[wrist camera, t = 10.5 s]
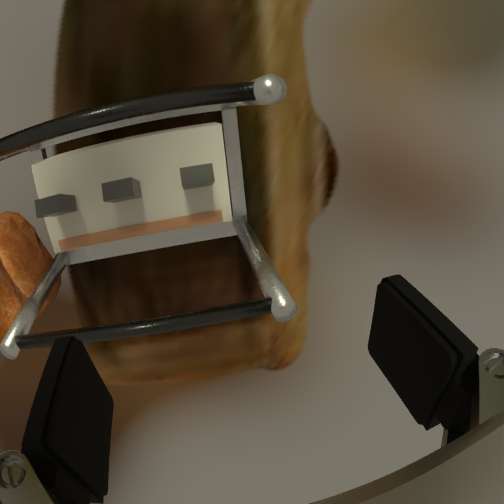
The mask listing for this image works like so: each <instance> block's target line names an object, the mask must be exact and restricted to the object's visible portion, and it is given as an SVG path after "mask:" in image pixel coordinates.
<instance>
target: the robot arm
mask: <svg viewBox="0 0 504 504" xmlns="http://www.w3.org/2000/svg"><path fill="white" fill-rule="evenodd" d="M368 350H369V353H370V355H371V357H372V358H373V360H374V361H375V362H376V364H377V365H378V367H379V368H380V369H381V371H382V372H383V374H384V375H385V377H386V378H387V380H388V381H389V382H390V384H391V385H392V387H393V388H394V390H395V391H396V392H397V394H398V395H399V397H400V398H401V400H402V401H403V403H404V404H405V406H406V407H407V408H408V410H409V412H410V413H411V415H412V416H413V417H414V419H415V420H416V421H417V423H418V424H420V425H422V424H423V426H424V427H425V429H426V430H429V429H431V428H433V427H434V426H436V425H438V424H440V423H441V425H442V426H443V427H444V429H443V437H442V443H441V448H440V449H438V450H436V451H434V452H433V453H431V454H429V455H427V456H425V457H423V458H421V459H419V460H418V461H416V462H414V463H412V464H410V465H408V466H406V467H403V468H401V469H399V470H397V471H395V472H393V473H391V474H388V475H386V476H384V477H381V478H379V479H377V480H375V481H372V482H370V483H367V484H365V485H363V486H360V487H357V488H354V489H352V490H349V491H346V492H343V493H341V494H338V495H335V496H332V497H329V498H326V499H323V500H320V501H316V502H313V503H310V504H504V350H502V349H498V348H491V349H487V350H485V351H484V352H482V354H481V355H480V356H479V355H478V354H477V350H478V347H477V346H476V345H475V344H474V343H472V341H471V340H470V339H468V337H466V335H464V333H462V332H461V331H460V330H459V329H458V328H457V327H456V326H455V325H454V324H453V323H452V322H451V321H450V320H449V319H448V318H447V317H446V316H445V315H443V313H442V312H440V310H439V309H437V308H436V307H435V306H434V305H433V304H432V303H431V302H430V301H429V300H428V299H427V298H425V297H424V296H423V295H422V294H421V293H420V292H419V291H418V290H417V289H416V288H415V287H413V286H412V285H411V284H410V283H409V282H408V281H407V280H406V279H404V278H403V277H402V276H401V275H393V276H390V277H386V278H383V279H382V281H381V283H380V284H378V286H377V292H376V299H375V306H374V312H373V319H372V325H371V330H370V336H369V342H368ZM112 417H113V399H112V396H111V395H110V393H109V391H108V390H107V388H106V386H105V384H104V382H103V381H102V379H101V377H100V375H99V373H98V372H97V370H96V368H95V366H94V364H93V362H92V360H91V358H90V356H89V355H88V353H87V351H86V349H85V347H84V345H83V343H82V341H81V340H77V339H76V337H75V336H64V337H57V338H56V339H55V341H54V344H53V347H52V349H51V352H50V355H49V357H48V360H47V363H46V365H45V368H44V371H43V374H42V377H41V380H40V383H39V386H38V389H37V392H36V395H35V398H34V401H33V404H32V408H31V411H30V415H29V418H28V422H27V425H26V429H25V433H24V437H23V441H22V445H21V446H22V450H21V452H19V451H15V450H9V451H6V452H4V453H2V454H0V504H89V503H103V496H105V495H107V492H108V472H109V454H110V453H109V452H110V439H111V427H112Z"/></svg>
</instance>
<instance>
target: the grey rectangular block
mask: <svg viewBox="0 0 504 504" xmlns="http://www.w3.org/2000/svg"><path fill="white" fill-rule="evenodd" d="M35 207H36V215H37V218H38V217H54V216H59V215H63V214H67V213H71V212H75V211H77V207H76V200H75V195H66V194H57V195H53V196H49V197H45V198H42V199H38V200H35Z"/></svg>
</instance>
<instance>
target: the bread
mask: <svg viewBox="0 0 504 504" xmlns="http://www.w3.org/2000/svg"><path fill="white" fill-rule="evenodd" d="M52 261H53V258H52V257H51V255H50V254H49V252H48V251H47V249H46V248H45V246H44V245H43V243H42V242H41V240H40V239H39V237H38V235H37V233H36V231H35V229H34V227H33V226H32V225H31V224H30V223H29V222H27V221H26V220H25V219H24V218H23V217H22V216H21V215H20V214H19V213H16V212H10V211H6V212H4V213H2V214H0V344H1V342H2V341H3V339H4V337H5V335H6V333H7V332H8V330H9V328H10V326H11V325H12V323H13V321H14V319H15V318H16V316H17V314H18V313H19V311H20V309H21V308H22V306H23V304H24V303H25V301H26V300H27V298H28V296H29V295H30V293H31V292H32V290H33V289H34V287H35V286H36V284H37V283H38V281H39V280H40V278H41V277H42V275H43V274H44V272H45V271H46V269H47V268H48V266H49V265H50V263H51V262H52ZM60 285H61V275H60V276H59V278H58V280H57V281H56V283H55V285H54V287H53V288H52V290H51V292H50V293H49V295H48V297H47V299H46V301H45V302H44V304H43V306H42V308H41V310H40V312H39V313H38V315H37V317H38V316H39V315H40V314H41V313H42V312H43V311H44V310H45V309H46V308H47V307H48V306H49V305H51V304H52V302H53V300H54V299H55V297H56V296H57V294H58V291H59V288H60ZM37 317H36V318H37Z"/></svg>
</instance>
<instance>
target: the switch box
mask: <svg viewBox="0 0 504 504" xmlns="http://www.w3.org/2000/svg"><path fill="white" fill-rule="evenodd" d="M208 163H212V165H213V172H214V179H215V182H214V184H213V185H210V186H204V187H198V188H192V189H186V190H184V189H183V187H182V183H181V176H180V168H183V167H189V166H195V165H202V164H208ZM31 168H32V172H33V176H34V181H35V186H36V190H37V194H38V198H39V199H42V198H45V197H49V196H53V195H57V194H66V195H75V200H76V207H77V211H75V212H71V213H67V214H63V215H59V216H54V217H44V220H45V223H46V227H47V230H48V234H49V237H50V240H51V243H52V246H53V249H54V252H55V254H56V253H60V252H65V251H70V250H75V249H80V248H85V247H90V246H95V245H100V244H105V243H110V242H116V241H121V240H126V239H131V238H137V237H142V236H148V235H153V234H159V233H164V232H170V231H176V230H182V229H187V228H193V227H199V226H205V225H211V224H217V223H223V222H229V221H233V220H232V212H231V203H230V195H229V186H228V177H227V168H226V159H225V150H224V141H223V132H222V124H220V123H217V122H212V123H205V124H198V125H191V126H184V127H178V128H172V129H166V130H161V131H155V132H150V133H145V134H140V135H135V136H130V137H125V138H121V139H116V140H112V141H108V142H103V143H99V144H95V145H91V146H87V147H83V148H80V149H76V150H72V151H69V152H65V153H62V154H58V155H55V156H52V157H49V158H47V159H45V160H42V161H40V162H38V163H36V164H34V165H32V166H31ZM129 177H132V178H134V179H136V180H138V181H140V189H141V196H142V197H141V198H136V199H131V200H126V201H121V202H116V203H112V202H104V201H103V194H102V186H101V183H106V182H110V181H115V180H120V179H124V178H129Z"/></svg>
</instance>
